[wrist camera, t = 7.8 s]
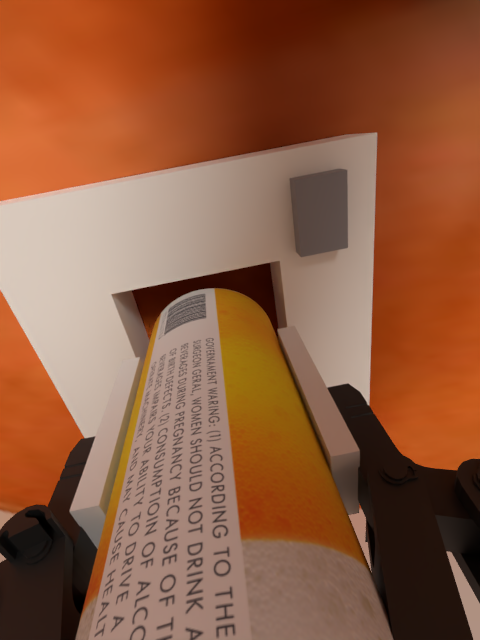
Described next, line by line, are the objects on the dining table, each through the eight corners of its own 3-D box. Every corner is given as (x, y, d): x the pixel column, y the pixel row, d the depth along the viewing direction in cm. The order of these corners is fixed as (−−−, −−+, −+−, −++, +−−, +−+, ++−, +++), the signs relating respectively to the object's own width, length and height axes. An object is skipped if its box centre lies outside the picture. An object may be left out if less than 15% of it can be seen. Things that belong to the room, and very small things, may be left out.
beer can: (197, 399, 19) (194, 974, 6) (127, 322, 16) (-178, 1086, 3) (290, 348, 18) (535, 901, 5) (232, 257, 15) (439, 963, 2)
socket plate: (0, 201, 15) (-58, 217, 12) (346, 134, 15) (387, 131, 12) (120, 443, 23) (107, 495, 19) (348, 396, 23) (374, 439, 19)
